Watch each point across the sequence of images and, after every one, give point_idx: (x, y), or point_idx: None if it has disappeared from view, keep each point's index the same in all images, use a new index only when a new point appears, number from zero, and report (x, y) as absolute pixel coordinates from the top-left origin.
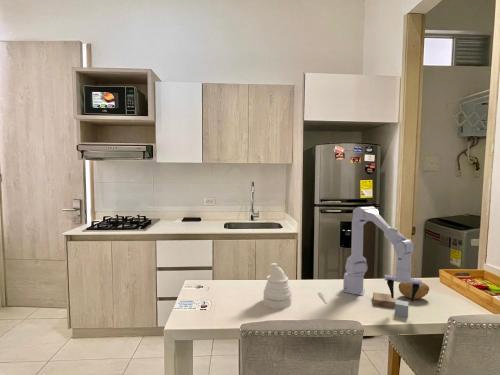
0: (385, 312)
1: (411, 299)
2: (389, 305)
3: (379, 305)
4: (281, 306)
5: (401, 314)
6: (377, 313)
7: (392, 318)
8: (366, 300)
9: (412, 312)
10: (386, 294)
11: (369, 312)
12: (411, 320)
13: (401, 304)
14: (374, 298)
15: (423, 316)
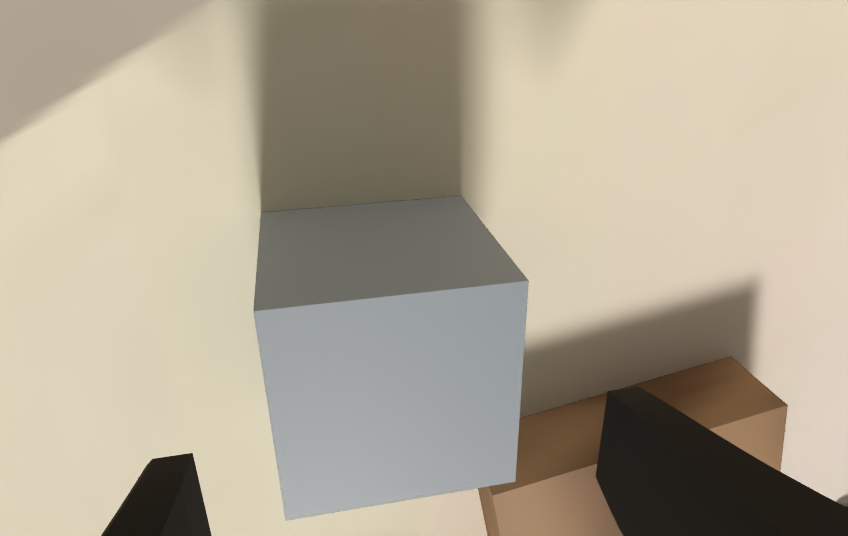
0: (593, 207)
1: (176, 488)
2: (550, 427)
3: (666, 378)
4: None
5: (363, 217)
6: (709, 97)
7: (486, 29)
8: (803, 427)
9: (231, 434)
10: None
11: (822, 63)
12: (180, 134)
13: (401, 323)
14: (777, 441)
15: (50, 400)
